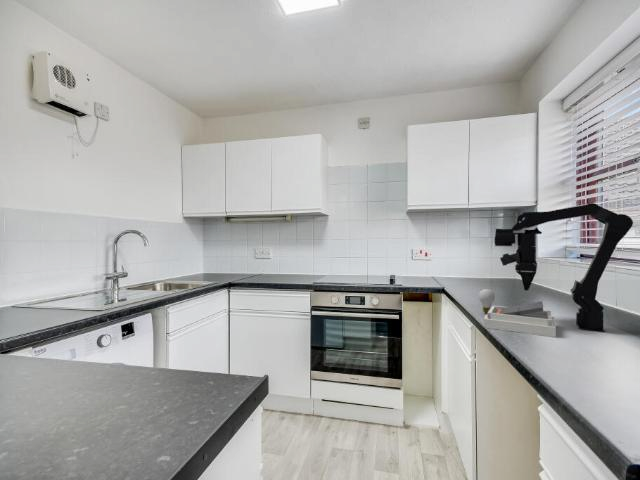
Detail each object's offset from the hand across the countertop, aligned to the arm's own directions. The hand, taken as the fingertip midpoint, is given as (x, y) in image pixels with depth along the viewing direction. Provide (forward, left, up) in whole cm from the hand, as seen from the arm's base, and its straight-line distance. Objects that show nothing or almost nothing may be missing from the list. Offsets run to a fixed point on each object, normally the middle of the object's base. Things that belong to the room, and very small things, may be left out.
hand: (526, 288), depth 118 cm
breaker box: (+2, +10, -12) cm, 16 cm away
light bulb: (+14, -5, -12) cm, 19 cm away
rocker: (+2, +10, -6) cm, 12 cm away
